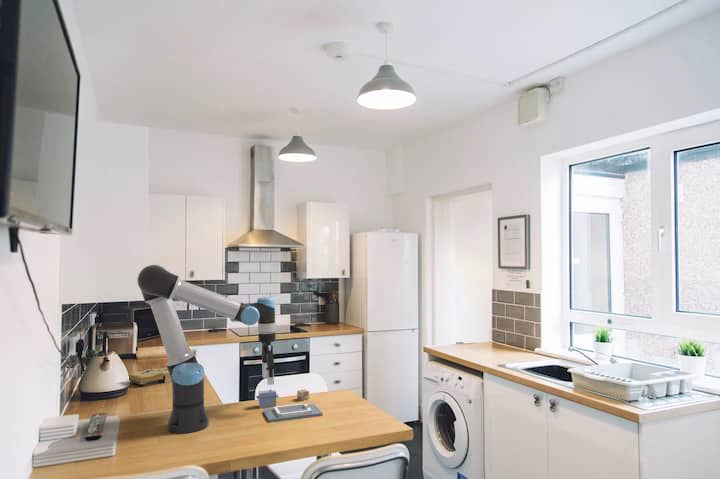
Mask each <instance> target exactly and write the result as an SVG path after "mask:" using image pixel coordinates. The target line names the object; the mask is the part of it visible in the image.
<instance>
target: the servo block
mask: <svg viewBox="0 0 720 479" xmlns="http://www.w3.org/2000/svg"><path fill="white" fill-rule="evenodd" d="M279 397H280V396H279V394H278V393H277V390H276V389H274V388H270V389H267V390H259V391H258V395H256V396H255V398H256V399H257V400H258V407H259V409H260V408H261V409H267V408H268V407H269V408H274V407H275V406H277V398H279ZM269 408H268V409H269Z"/></svg>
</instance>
